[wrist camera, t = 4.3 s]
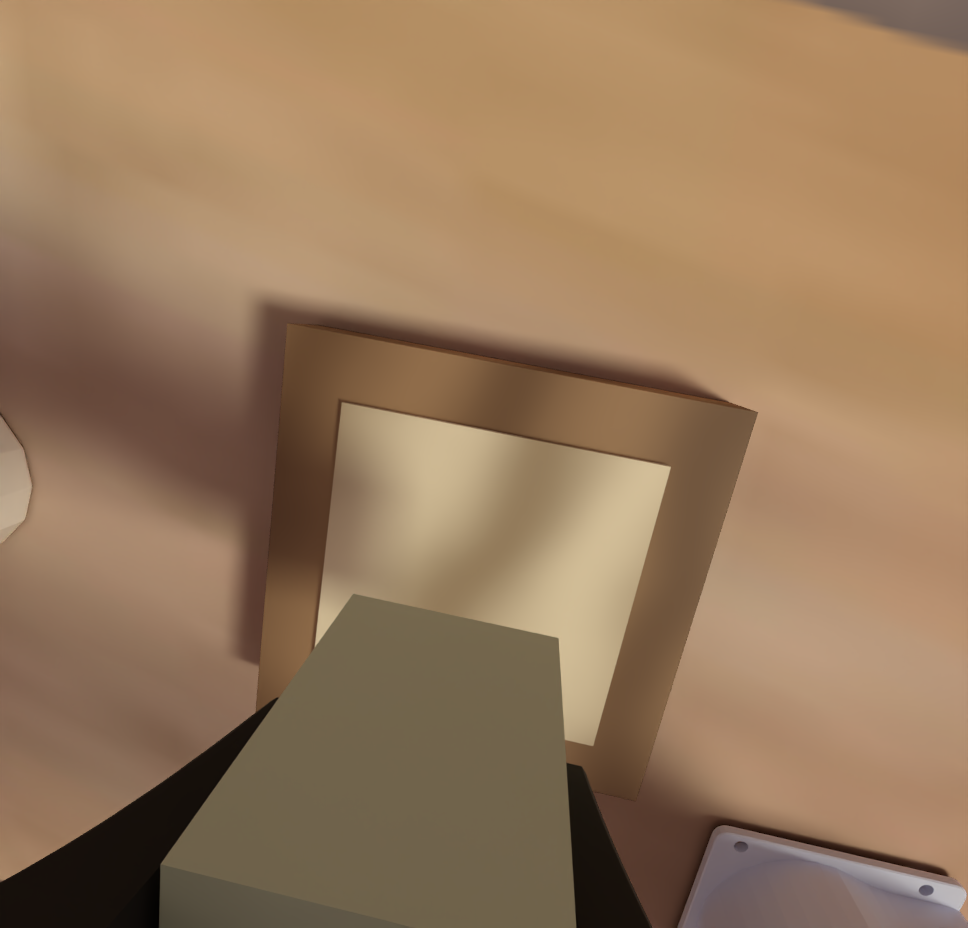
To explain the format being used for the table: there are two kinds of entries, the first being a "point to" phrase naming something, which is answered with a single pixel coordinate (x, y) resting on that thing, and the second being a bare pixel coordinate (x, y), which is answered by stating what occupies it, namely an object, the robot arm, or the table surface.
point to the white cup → (12, 482)
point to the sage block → (392, 788)
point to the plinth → (501, 517)
